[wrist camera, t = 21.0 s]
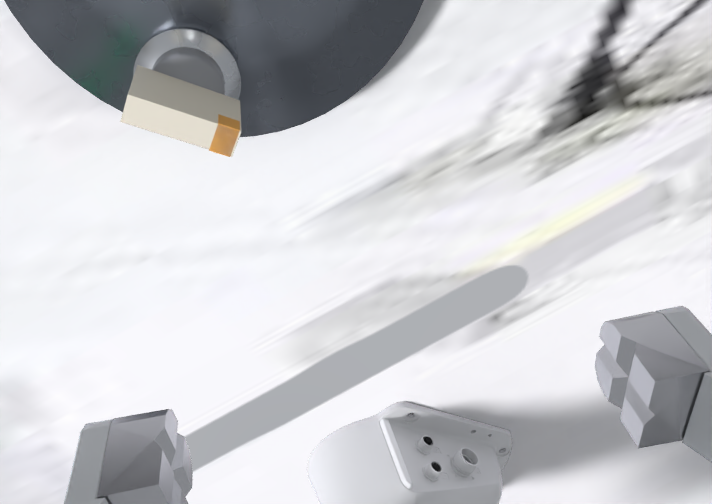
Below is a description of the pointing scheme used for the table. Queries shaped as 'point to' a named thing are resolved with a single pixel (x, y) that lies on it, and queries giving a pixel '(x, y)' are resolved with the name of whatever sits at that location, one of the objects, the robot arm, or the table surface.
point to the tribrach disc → (227, 47)
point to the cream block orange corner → (185, 101)
